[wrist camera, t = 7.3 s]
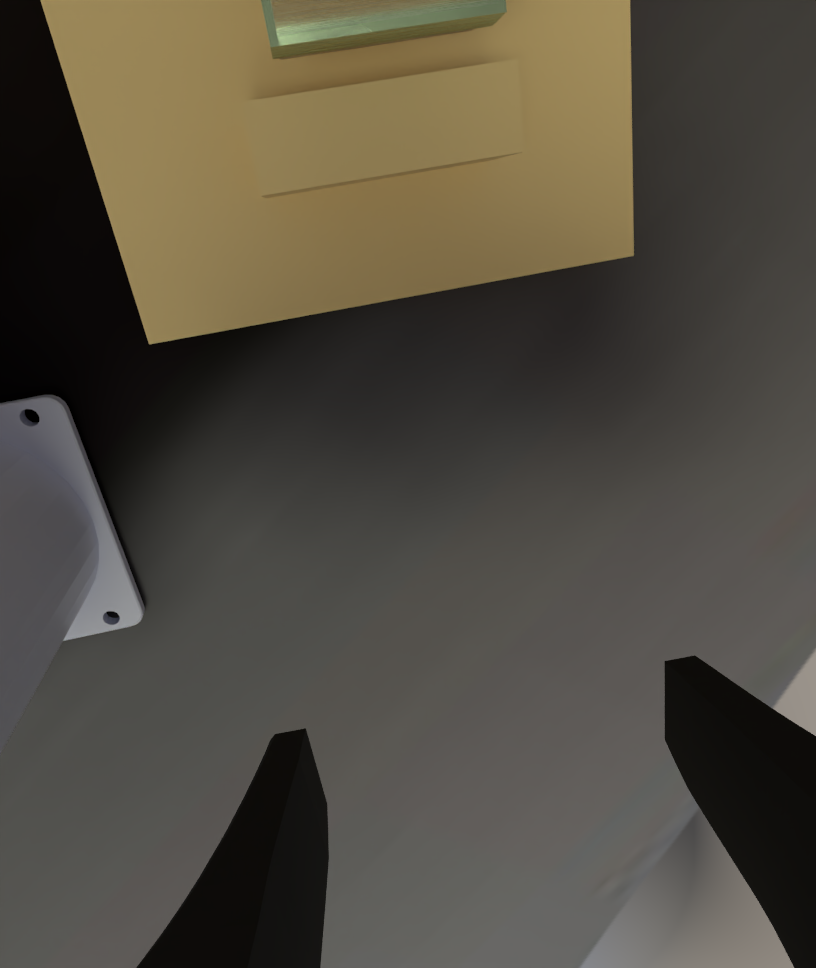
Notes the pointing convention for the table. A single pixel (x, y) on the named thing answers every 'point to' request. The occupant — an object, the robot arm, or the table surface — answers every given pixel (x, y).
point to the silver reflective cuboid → (368, 22)
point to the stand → (346, 155)
